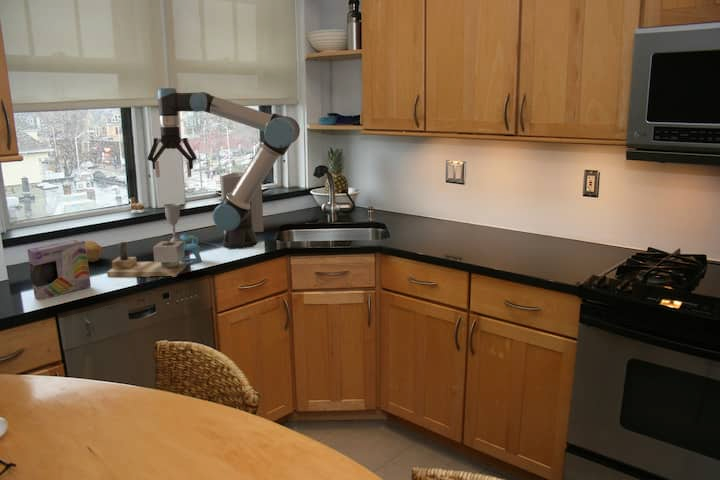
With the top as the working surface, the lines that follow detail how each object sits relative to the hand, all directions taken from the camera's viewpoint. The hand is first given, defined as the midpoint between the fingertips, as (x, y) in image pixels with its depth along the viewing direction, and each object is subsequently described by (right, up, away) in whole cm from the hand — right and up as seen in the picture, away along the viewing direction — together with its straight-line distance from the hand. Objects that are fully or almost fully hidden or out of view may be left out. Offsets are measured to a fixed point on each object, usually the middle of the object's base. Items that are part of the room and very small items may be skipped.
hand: (173, 177), depth 265 cm
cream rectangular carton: (+20, -22, +48) cm, 56 cm away
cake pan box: (-26, -45, -46) cm, 69 cm away
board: (-4, -39, -21) cm, 44 cm away
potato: (-32, -36, -7) cm, 49 cm away
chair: (+10, -36, -9) cm, 38 cm away
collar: (+5, -34, -23) cm, 41 cm away
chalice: (-6, -28, +23) cm, 37 cm away
